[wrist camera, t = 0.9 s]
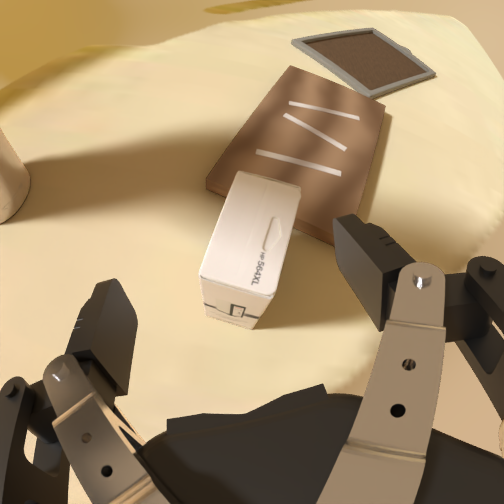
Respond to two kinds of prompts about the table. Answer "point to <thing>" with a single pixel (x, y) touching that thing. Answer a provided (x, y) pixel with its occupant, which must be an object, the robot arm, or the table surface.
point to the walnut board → (307, 147)
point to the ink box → (248, 249)
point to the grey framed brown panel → (365, 60)
